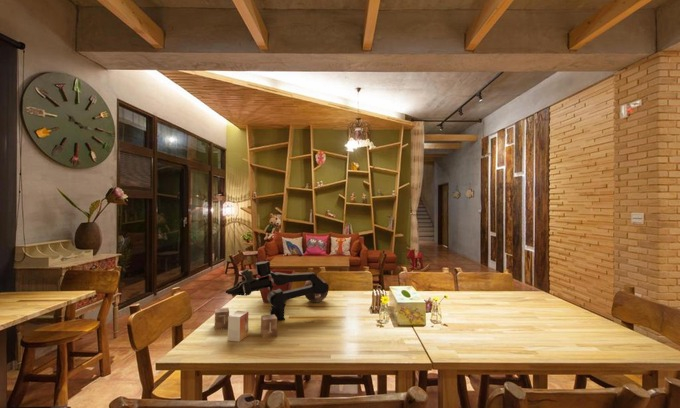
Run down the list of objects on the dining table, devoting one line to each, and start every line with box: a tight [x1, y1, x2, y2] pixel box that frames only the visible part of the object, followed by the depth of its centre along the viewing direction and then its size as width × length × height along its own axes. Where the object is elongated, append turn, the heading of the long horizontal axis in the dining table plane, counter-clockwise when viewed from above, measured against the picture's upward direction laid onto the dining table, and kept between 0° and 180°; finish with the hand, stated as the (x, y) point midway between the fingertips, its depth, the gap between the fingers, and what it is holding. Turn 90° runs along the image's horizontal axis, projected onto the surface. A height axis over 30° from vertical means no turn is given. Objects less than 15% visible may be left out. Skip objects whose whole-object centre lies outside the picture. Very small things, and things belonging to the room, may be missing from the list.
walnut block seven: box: [214, 307, 230, 331], centre depth 156 cm, size 6×6×8 cm
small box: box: [227, 310, 249, 343], centre depth 144 cm, size 8×6×10 cm
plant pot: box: [257, 269, 295, 304], centre depth 202 cm, size 19×19×17 cm
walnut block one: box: [260, 314, 278, 339], centre depth 147 cm, size 6×6×8 cm
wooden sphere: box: [303, 276, 329, 303], centre depth 201 cm, size 15×15×15 cm
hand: (226, 292), depth 158 cm, fingers open, 9 cm apart
